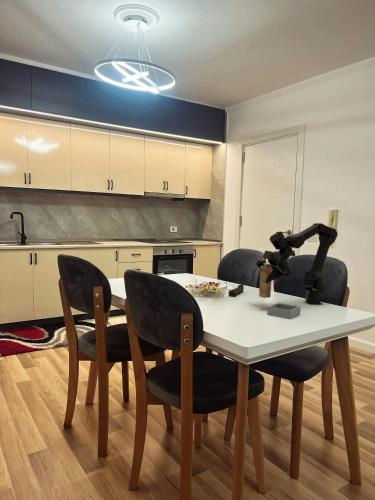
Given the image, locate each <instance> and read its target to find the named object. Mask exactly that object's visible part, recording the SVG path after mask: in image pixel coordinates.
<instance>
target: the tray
mask: <svg viewBox="0 0 375 500" xmlns="http://www.w3.org/2000/svg"><path fill="white" fill-rule="evenodd" d="M301 308H302V307H301V306H299V305H291V304H285V303H281V302H277V303H275V304H271V305H269V306H267V316H271V317H272V316H273V317H278V318H283V319H288V320H292V319H294V318H296V317H298V316H301V311H302V310H301Z"/></svg>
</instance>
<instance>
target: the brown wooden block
mask: <svg viewBox="0 0 375 500" xmlns="http://www.w3.org/2000/svg"><path fill="white" fill-rule="evenodd" d="M259 270H260V271H259V272H260V273H259V274H260V275H259V295H258V297H259V298H260V297H261V298H263V299H269V298H271V296H272V295H271V293H272V281H271V282H269V283H266V280H267V278H268V277H269V275H270V274H271V272H272V267H271V266H261V269H259Z"/></svg>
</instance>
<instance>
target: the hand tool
mask: <svg viewBox="0 0 375 500" xmlns="http://www.w3.org/2000/svg"><path fill="white" fill-rule="evenodd" d="M244 290H245V286H244V284H243V283H241V284H238V286H237V287H236V288H233V289H230V290H229V291H228V296H229V297H230V298H235V297H236V296H237V295H239V294H243V293H244Z"/></svg>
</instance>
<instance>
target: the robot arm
mask: <svg viewBox="0 0 375 500" xmlns="http://www.w3.org/2000/svg"><path fill="white" fill-rule="evenodd" d="M338 234H339V233H338V230H337V229H336V228H332V227H331V226H328V225H326V224H324V223H321V222H315V223H313V224H312V225H310V226H309V227H307V228H305V229H304V230H302V231H299V232H298V233H293V234H290V235H287V236H286V237H285V235H284V233H283V232H282V231H277V232H276V233H274V234H272V235H270V237H269V241H270V243H271V244H272V246H273V247H274V249H275V250H274V251H272V250H271V251H270V250H264V252H263V255H262V258H263V259H266V260H267V262H266V261H265V260H263V259H262V260H261V259H258V260H257V261H256V262H255V265H256V266H257V267H258V269H259V270H260V269H261V266H271V267H272V272H271V274H270V275H269V277H268V278H267V280H266V283H269V282H271V283H272V282H273V281H275V280H277V279H279V278H282V277H289V278H291V277H292V275H293V270H292V269H291V267H290V266H289V264H288V260H289V259H290V258H291V257H296V251H295V250H293V249H300V248H301V247H303V245H305V242H306V241H307V240H308V239H311V238H313V237H314V236H316V235H318V243H319V244H318V248H317V250H316V254H315V256H314V259H313V262H312V265H311V268H310V270H309V271H305V272H304V276H303V278H302V283H303V288H304V290H305V291H306V293H305V300H304V302H305V303H307V304H309V305H323V302H322V294H323V293H324V292H325V290H326V287H325V285H324V284H323V283H322V282H323V275H322V271H323V268H324V264H325V263H326V262H325V261H326V258H327V256H328V253H329V249H330V247H331V246H332V245H333V244H334V243H335V242H336V240H337V238H338ZM276 250H277V251H276Z"/></svg>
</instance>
